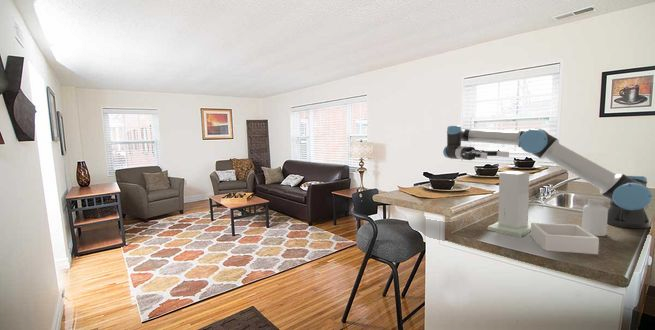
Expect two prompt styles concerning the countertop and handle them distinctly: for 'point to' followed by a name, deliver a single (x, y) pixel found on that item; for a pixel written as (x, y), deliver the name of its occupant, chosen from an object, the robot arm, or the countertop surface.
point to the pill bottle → (595, 217)
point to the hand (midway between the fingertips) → (497, 155)
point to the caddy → (564, 238)
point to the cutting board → (511, 229)
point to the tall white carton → (513, 199)
